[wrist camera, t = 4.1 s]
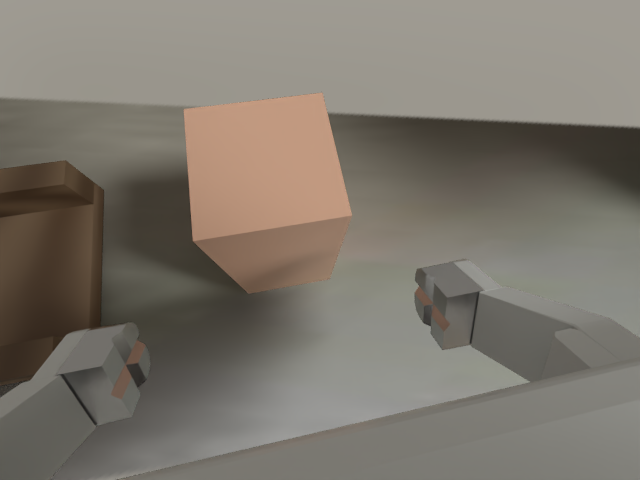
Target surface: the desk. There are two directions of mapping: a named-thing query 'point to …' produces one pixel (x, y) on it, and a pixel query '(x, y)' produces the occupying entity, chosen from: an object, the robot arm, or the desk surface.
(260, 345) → the desk surface
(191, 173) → the block
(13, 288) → the cradle
